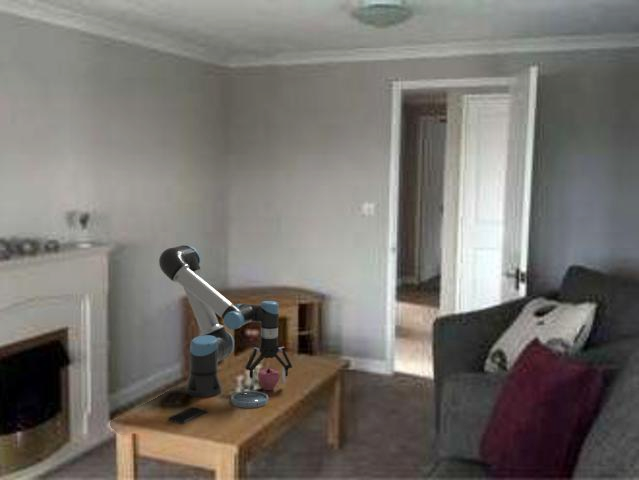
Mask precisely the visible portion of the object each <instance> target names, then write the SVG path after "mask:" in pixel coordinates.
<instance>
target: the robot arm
mask: <svg viewBox="0 0 639 480" xmlns="http://www.w3.org/2000/svg"><path fill="white" fill-rule="evenodd" d="M200 263H201V256H200V253H199V251H198V250H197V249H196V248H195V247H194V246H191V245H185V244H183V245H179V246H174V247H169V248H167V249H165V250H163V252H161V254H160V256H159V260H158V264H159V265H158V266H159V267H160V270H161V271H162V273H163V274H164V275H165V276H166V277H167V278H168V279H169V280H171V281H172V282H173V283H179V285H181V286H182V287H183V290H184V293H185V295H186V298H187V300H188V302H189V305H190V307H191V309H192V312H193V315H194V317H195V320H196V321H197V325H198V327H199V330H200V333H199V336H196V337H194V338H193V339H191V341H190V346H189V352H190V353H189V377H188V379H187V382H186V384H185V385H186V386H185V394H186V393H187V394H186V395H188V394H189V395H188V396H191V397H194V398H209V397H214V396H218V395H219V394H220V393H222V384H221V382H220V377H219V375H218V368H219V367H218V363H220V362H221V361H222V360H224V359H226V358H228V357H229V355H232V353H233V351H234V349H235V339H234V337H233V335H232V334H231V333H230V332H228V331H227V330H226V328H227V329H229V330H237V329H240V328H242V327H243V326H245V325H246V324H248V323H260V336H261V337H260V347H259V348H257V347H253V349H252V353H251V355H250V357H249V359H248V361H247V363H246V365H245V370H246V371H247V370H248V371H249V378H250V379H251V386H252V385H253V386H252V387H255V379H256V378H255V377H256V376H255V375H256V374H255V369H256V367H257V366H258V365H259V364H260V363H261V362H262V360H263V359H274V358H275V359H276V360H277V361H278V362H279V363H280V364H281V366H283V367H282V381H281V383H282V385H286V377H288V374H289V372H288V371H289V369H291V368H293V365H292V363H291V361H290V359H289V357H288V354H287V353H286V348H285V347H284V346H283V345H282V346H281V347H279V338H278V337H279V316H280V315H279V314H280V311H279V303H278V301H274V300H264V301H262V302H261V304H260V305H259V304H250V303H249V304H248V303H237V304H236V305H235V304H233V303H232V302H231V301H230V300H229V299H227V298H226V297H225V296H224V295H223V294H221V293H220V292H219V291H218V290H216V289H215V288H214V287H212V286H211V285H210V284H209V283H207V281H206V280H204V278H202V277H201V276H200V273H201V272H202V269H201V267H200ZM217 315H218V317H220V318H221V319H222V320H223V323H224V324H223V325H222V324H220V323H219V320H218V317H217ZM224 325H225V326H224ZM225 327H226V328H225ZM278 352H280V353H282V355H283V357H284V359H285V362H286V363H287V364H286V363H285V362H284V360H282V358H280V356H279V355H278ZM258 353H260V354H259V355H258V357H257V358H256V356H257V354H258ZM255 358H256V359H255Z"/></svg>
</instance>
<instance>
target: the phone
mask: <svg viewBox="0 0 639 480" xmlns="http://www.w3.org/2000/svg"><path fill="white" fill-rule="evenodd" d="M207 413H208V411H207V409H202V408H198V407H194V406H192V407H189V408H186V409H184V410H182V411H180V412H178V413H175V414H173V415H172V416H169V417H168V418H167V420H168V421H169V422H172V423H176V424H181V425H185V424H187V423H190V422H191V421H193V420H196V419H197V418H199V417H201V416H203V415H204V416H205V414H207Z"/></svg>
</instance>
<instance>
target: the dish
mask: <svg viewBox="0 0 639 480" xmlns="http://www.w3.org/2000/svg"><path fill="white" fill-rule="evenodd" d="M242 393H247V394H243V395H242ZM230 400H231V404H232V405H234V406H236V407H239V408H245V409H247V408H248V409H252V408H253V409H254V408H260V407H263V406H266V405H268V403H269V400H270V398H269V395H268V393H265V392H262V391H258V390H243V391H238V392H235V393H234V394H232V395H231V398H230Z"/></svg>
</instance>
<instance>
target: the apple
mask: <svg viewBox="0 0 639 480" xmlns="http://www.w3.org/2000/svg"><path fill="white" fill-rule="evenodd" d="M257 379H258V381H259V384H260V385H261V387H262V389H263V390H266V391H273V390H274V389H275V387H276V386H277V385H278V382H279V380H280V373H279V371H278V370H275V369H273V368H264V369H261V370H260V369H259V371H258V373H257Z"/></svg>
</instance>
